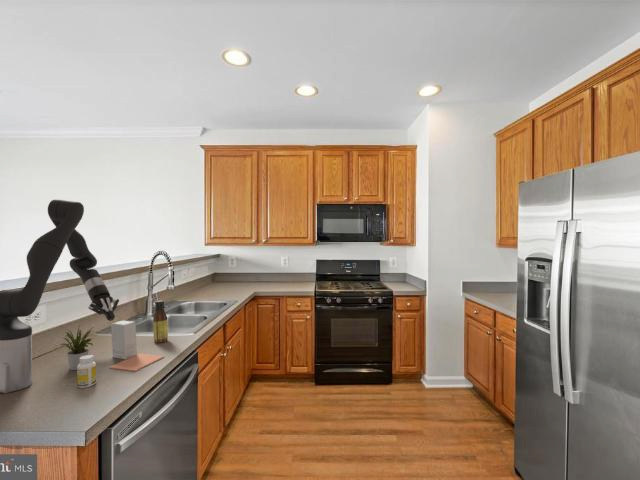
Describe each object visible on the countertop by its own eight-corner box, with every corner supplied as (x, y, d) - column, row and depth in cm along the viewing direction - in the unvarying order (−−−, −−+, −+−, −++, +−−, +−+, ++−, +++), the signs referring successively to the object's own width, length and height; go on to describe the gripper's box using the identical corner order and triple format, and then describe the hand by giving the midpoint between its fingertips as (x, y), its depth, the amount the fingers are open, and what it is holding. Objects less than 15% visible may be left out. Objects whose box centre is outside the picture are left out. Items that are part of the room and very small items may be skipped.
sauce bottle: (170, 339, 171) (170, 299, 170) (163, 343, 164) (163, 302, 164) (157, 339, 171) (157, 299, 171) (150, 343, 165) (150, 301, 165)
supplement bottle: (92, 380, 123) (93, 353, 122) (98, 384, 119) (98, 356, 119) (75, 385, 118) (75, 357, 118) (80, 389, 115) (80, 360, 115)
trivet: (134, 371, 130) (134, 370, 130) (109, 368, 134) (109, 366, 134) (164, 357, 146) (164, 356, 146) (140, 354, 149) (140, 353, 149)
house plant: (47, 378, 124) (47, 333, 123) (53, 366, 135) (53, 324, 135) (94, 371, 131) (94, 328, 131) (96, 359, 143) (96, 320, 142)
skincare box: (137, 355, 148) (137, 321, 147) (124, 360, 142) (124, 324, 142) (123, 353, 151) (123, 319, 151) (110, 357, 145) (110, 322, 145)
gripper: (84, 286, 150) (99, 317, 144) (114, 282, 161) (130, 311, 155) (77, 296, 152) (92, 328, 147) (108, 292, 164) (123, 321, 158)
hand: (112, 319), depth 151 cm, fingers closed
